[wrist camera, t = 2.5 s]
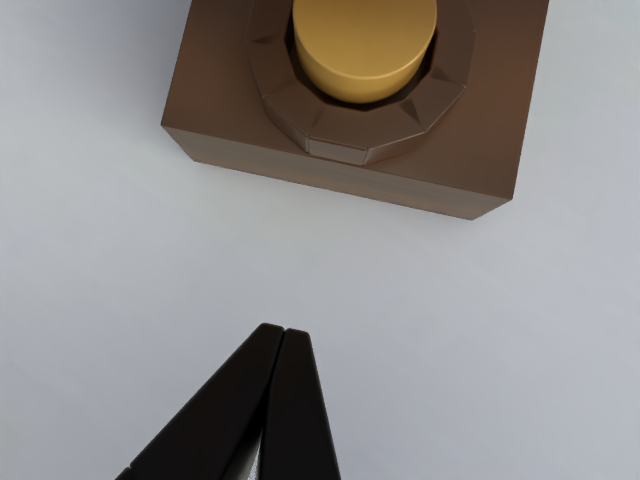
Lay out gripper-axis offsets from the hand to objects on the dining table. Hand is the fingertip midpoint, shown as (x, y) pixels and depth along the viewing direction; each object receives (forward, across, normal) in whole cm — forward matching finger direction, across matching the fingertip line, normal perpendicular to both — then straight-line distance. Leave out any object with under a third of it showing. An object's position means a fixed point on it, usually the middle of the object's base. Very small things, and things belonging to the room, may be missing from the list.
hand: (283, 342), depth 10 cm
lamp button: (+11, 0, -1) cm, 11 cm away
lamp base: (+18, 0, +1) cm, 18 cm away
